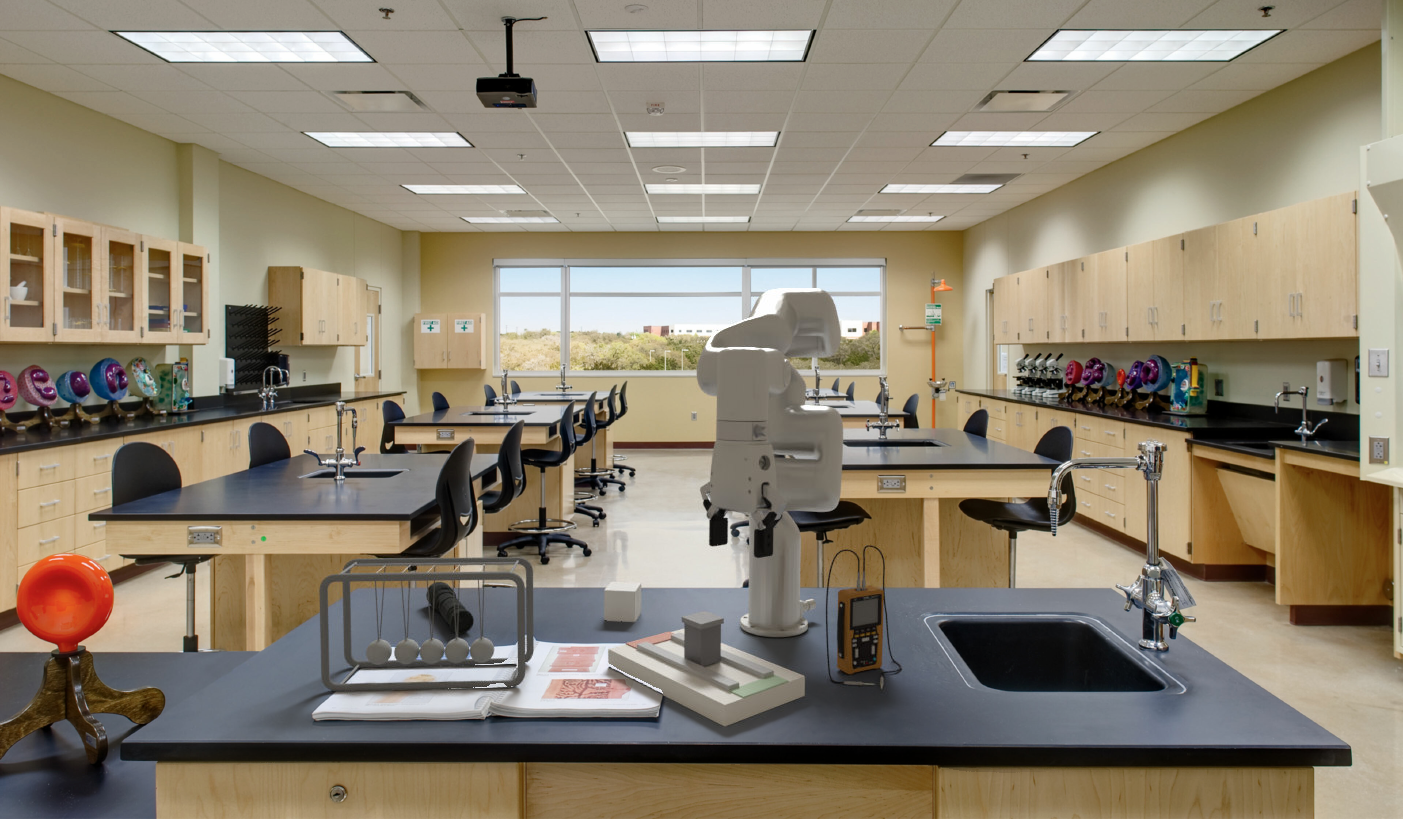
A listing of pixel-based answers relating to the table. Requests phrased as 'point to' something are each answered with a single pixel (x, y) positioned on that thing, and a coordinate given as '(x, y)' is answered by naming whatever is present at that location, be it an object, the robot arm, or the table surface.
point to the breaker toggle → (702, 638)
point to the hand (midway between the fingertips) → (740, 550)
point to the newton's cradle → (430, 648)
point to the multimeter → (860, 626)
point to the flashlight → (450, 607)
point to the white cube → (622, 601)
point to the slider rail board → (709, 678)
